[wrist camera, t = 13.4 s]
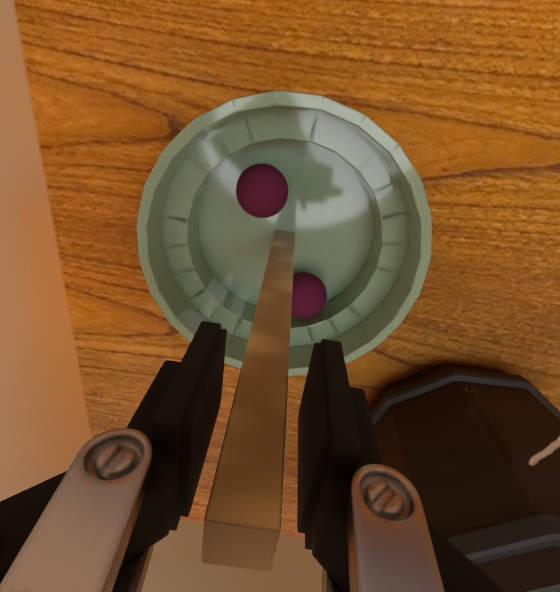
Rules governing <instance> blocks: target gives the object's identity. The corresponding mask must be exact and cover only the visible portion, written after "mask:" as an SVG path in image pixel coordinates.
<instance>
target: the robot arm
mask: <svg viewBox="0 0 560 592" xmlns="http://www.w3.org/2000/svg"><path fill="white" fill-rule="evenodd" d="M226 338H227V329H221V324H220V323H214V322H207V321H202V322H201V323H200V325H199V327H198V329H197V331H196V333H195V335H194V337H193V339H192V341H191V343H190V345H189V347H188V349H187V351H186V353H185V355H184V357H183V359H182V361H181V362H176V361H169V360H167V361H165V362H164V364H163V365H162V367H161V369H160V370H159V372H158V374H157V376H156V377H155V379H154V381H153V383H152V384H151V386H150V388H149V390H148V391H147V393H146V395H145V397H144V398H143V400H142V402H141V404H140V405H139V407H138V409H137V411H136V412H135V414H134V416H133V417H132V419H131V421H130V423H129V424H128V426H127V428H116V429H112V430H108V431H105V432H103V433H101V434H98V435H96V436H95V437H93V438H92V439H91V440H89V441H88V442H87V443H86V444H85V445H84V446H83V447H82V448H81V450H80V451H79V452H78V454H77V456H76V457H75V459H74V461H73V462H72V464H71V466H70V468H69V469H68V471H66V472H64V473H61V474H59V475H57V476H55V477H53V478H51V479H49V480H46V481H44V482H42V483H40V484H38V485H35V486H33V487H31V488H29V489H27V490H25V491H22V492H20V493H18V494H16V495H14V496H12V497H9V498H7V499H5V500H3V501H1V502H0V592H141V590H142V586H143V582H144V579H145V576H146V572H147V569H148V565H149V561H150V558H151V555H152V551H153V546H154V544H155V543H156V542H158V541H159V540H161V539H162V538H164V537H165V536H167V535H168V533H169V530H175V531H176V529H177V526H178V523H179V520H180V516H185V517H188V516H189V513H190V510H191V506H192V503H193V499H194V496H195V492H196V489H197V485H198V482H199V478H200V475H201V471H202V468H203V464H204V461H205V457H206V454H207V450H208V447H209V443H210V440H211V436H212V433H213V429H214V426H215V422H216V419H217V415H218V412H219V408H220V402H221V394H222V383H223V371H224V360H225V349H226ZM297 529H298V532H299V533H305V549H311V550H312V554H313V556H314V557H315V559H316V560H317V561H318V562H319V563H320V565H321V566H322V567H323V570H322V592H506V591H505V590H504V589H502V588H501V587H500V586H499V585H498V584H497V583H496V582H494V581H493V580H492V579H491V578H490V577H489V576H488V575H486V574H485V573H484V572H483V571H482V570H481V569H480V568H478V567H477V566H476V565H475V564H474V563H473V562H472V561H470V560H469V559H468V558H467V557H466V556H465V555H464V554H463V553H461V552H460V551H459V550H458V549H457V548H456V547H455V546H453V545H452V544H451V543H450V542H449V541H448V540H447V539H445V538H444V537H443V536H442V535H441V534H440V533H439V532H437V531H436V530H435V529H434V528H433V527H432V526H431V525H429V524H428V523H427V521H426V517H425V513H424V510H423V506H422V502H421V499H420V497H419V494H418V492H417V490H416V489H415V487H414V486H413V484H412V483H411V482H410V481H409V480H408V479H407V478H406V477H405V476H404V475H403V474H402V473H400V472H398V471H396V470H395V469H393V468H391V467H388V466H385V465H382V461H381V457H380V453H379V449H378V445H377V441H376V436H375V432H374V428H373V424H372V420H371V416H370V412H369V407H368V403H367V399H366V395H365V392H364V390H363V389H360V388H353V387H349V381H348V376H347V371H346V365H345V360H344V354H343V349H342V344H341V342H340V341H335V340H328V339H322V340H321V343H314V346H313V350H312V355H311V360H310V364H309V369H308V373H307V378H306V383H305V387H304V392H303V396H302V401H301V405H300V410H299V418H298V515H297Z"/></svg>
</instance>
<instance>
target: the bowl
mask: <svg viewBox="0 0 560 592" xmlns="http://www.w3.org/2000/svg"><path fill="white" fill-rule="evenodd" d="M261 163H263V164H269V165H272V166H274V167H276V168H277V169H278V170H279V171H280V172H281V173H282V174H283V175H284V177H285V179H286V181H287V184H288V198H287V201H286V203H285V205H284V207H283V208H282V209H281V211H279V212H278V213H277V214H275V215H274V216H271V217H268V218H257V217H254V216H251V215H250V214H248V213H247V212H245V211H244V210H243V209H242V207H241V206H240V204H239V202H238V200H237V196H236V185H237V181H238V179H239V177H240V175H241V174H242V172H243V171H244V170H245V169H247V168H248V167H250V166H252V165H255V164H261ZM144 185H145V186H144V187H143V192H142V197H141V202H140V206H139V211H138V216H137V221H136V228H137V242H138V256H139V262H140V265H141V268H142V271H143V274H144V277H145V280H146V282H147V285H148V288H149V291H150V293H151V295H152V297H153V298H154V300H155V301H156V303H157V305H158V306H159V308H160V309H161V311H162V312H163V314H164V315H165V317H166V318H167V320H168V321H169V323H170V324H171V325H172V326H173V327H174V328H175V329H177V330H178V331H179V332H180V333H181V334H182V335H183V336H184V337H185V338H186V339H187V340H188V341H189V342H190V343H191V341H192V339H193V337H194V335H195V333H196V331H197V329H198V327H199V325H200V323H201V322H202V321H207V322H214V323H220V324H221V329H227V338H226V349H225V360H224V363H225V364H227V365H230V366H233V367H236V368H239V369H241V367H242V363H243V359H244V355H245V351H246V347H247V343H248V339H249V335H250V331H251V327H252V322H253V318H254V314H255V310H256V306H257V302H258V298H259V294H260V290H261V286H262V282H263V278H264V274H265V269H266V265H267V261H268V257H269V253H270V249H271V245H272V241H273V237H274V233H275V230H280V231H286V232H293V233H295V248H294V268H293V275H294V274H296V273H300V272H308V273H312V274H314V275H316V276H317V277H319V278H320V279H321V281H322V282H323V283H324V285H325V288H326V292H327V299H326V303H325V305H324V307H323V309H322V310H321V311H320V312H319V313H318V314H316V315H315V316H313V317H310V318H297V317H294V316H292V315H291V328H290V348H289V368H288V376H297V375H307V373H308V369H309V364H310V360H311V355H312V350H313V346H314V343H321V340H322V339H328V340H335V341H340V342H341V344H342V349H343V354H344V360H345V364H348V363H350V362H352V361H353V360H355V359H357V358H359V357H360V356H362V355H364V354H365V353H367V352H369V351H370V350H372V349H374V348H376V346H378V345H379V344H380V343H382V342H383V341H384V340H385V339H386V338H387V337H388V336H389V335H390V334H391V333H392V332H393V331H394V330H395V329H396V328H397V327H398V326H399V325H400V324H401V322H403V320H404V318H405V317H406V315H407V314H408V312H409V311H410V309H411V307H412V306H413V304H414V303H415V301H416V299H417V298H418V296H419V295H420V292H421V290H422V286H423V283H424V280H425V277H426V273H427V270H428V267H429V264H430V260H431V251H432V216H431V212H430V209H429V205H428V201H427V197H426V194H425V190H424V186H423V183H422V181H421V178H420V176H419V175H418V173H417V171H416V170H415V168H414V167H413V165H412V163H411V162H410V160H409V159H408V157H407V155H406V154H405V152H404V150H403V149H402V147H401V146H400V145H399V144H398V142H397V141H396V140H395V139H393V138H392V137H391V136H390V135H389V134H388V133H386V132H385V131H384V130H383V129H382V128H381V127H380V126H378V125H377V124H376V123H375V122H374V121H373V120H372V119H370V118H369V117H368V116H367V115H365V114H364V113H362V112H359V111H357V110H355V109H353V108H350V107H348V106H346V105H344V104H341V103H339V102H337V101H335V100H332V99H330V98H328V97H326V96H324V97H323V95H314V94H306V93H297V92H289V91H280V90H278V91H270V92H265V93H260V94H254V95H249V96H244V97H238V98H234V99H231V100H229V101H227V102H225V103H223V104H221V105H219V106H217V107H215V108H214V109H212V110H210V111H208V112H206V113H204V114H202V115H200V116H198V117H197V118H195V119H194V120H192V121H191V122H190V123H189V124H188V125H187V126H186V127H185V128H184V129H183V130H182V131H181V132H180V133H179V134H178V135H177V136H176V137H175V138H174V139H173V140H172V141H171V142H170V143H169V144H168V145H167V146H166V147H165V148H164V149H163V151H162V152H161V154H160V156H159V158H158V160H157V161H156V163H155V165H154V167H153V169H152V171H151V173H150V175H149V176H148V178H147V180H146V182H145V184H144Z"/></svg>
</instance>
